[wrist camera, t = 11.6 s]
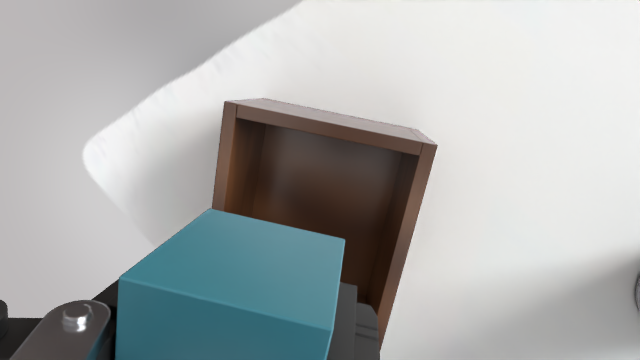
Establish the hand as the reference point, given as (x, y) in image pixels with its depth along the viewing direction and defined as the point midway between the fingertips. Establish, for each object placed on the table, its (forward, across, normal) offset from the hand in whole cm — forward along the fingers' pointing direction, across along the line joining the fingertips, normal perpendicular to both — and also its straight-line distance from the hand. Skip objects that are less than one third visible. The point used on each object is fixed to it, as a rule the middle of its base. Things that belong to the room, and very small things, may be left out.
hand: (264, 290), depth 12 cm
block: (0, 0, 0) cm, 0 cm away
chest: (+22, 0, -4) cm, 22 cm away
